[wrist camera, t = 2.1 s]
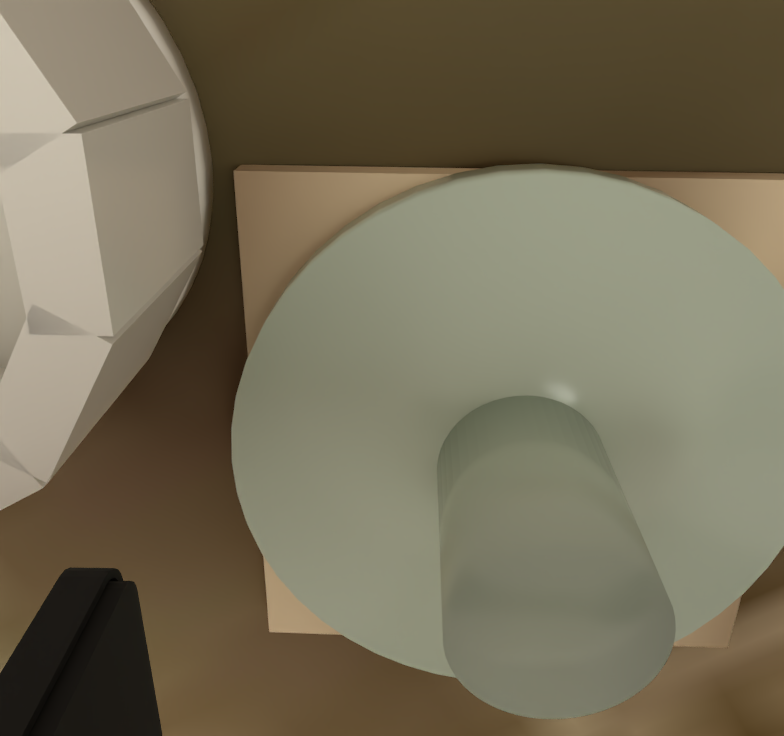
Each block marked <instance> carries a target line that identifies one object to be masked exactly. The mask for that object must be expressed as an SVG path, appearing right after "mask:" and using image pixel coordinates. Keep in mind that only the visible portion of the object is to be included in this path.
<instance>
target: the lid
mask: <svg viewBox="0 0 784 736" xmlns="http://www.w3.org/2000/svg"><path fill="white" fill-rule="evenodd" d="M231 443H232V466H233V472H234V478H235V484H236V490H237V495H238V498H239V501H240V504H241V507H242V510H243V513H244V516H245V519H246V522H247V525H248V527H249V529H250V531H251V533H252V535H253V537H254V539H255V541H256V543H257V545H258V547H259V549H260V551H261V553H262V554H263V556H264V557H265V559H266V560H267V562H268V563H269V565H270V566H271V567H272V569H273V570H274V572H275V573H276V575H277V576H278V578H279V579H280V580H281V581H282V582H283V583H284V584H285V586H286V587H287V588H288V589H289V590H290V591H291V592H292V593H293V595H294V596H295V597H296V598H297V599H298V600H299V601H300V602H301V603H302V604H303V605H305V606H306V607H307V608H308V609H309V610H310V611H311V612H313V613H314V614H315V615H316V616H317V617H318V618H319V619H320V620H322V621H323V622H325V623H326V624H327V625H329V626H330V627H332V628H333V629H335V630H336V631H338V632H339V633H340V634H342V635H343V636H345V637H346V638H348V639H350V640H352V641H353V642H355V643H357V644H359V645H361V646H363V647H365V648H367V649H368V650H370V651H372V652H374V653H376V654H379V655H381V656H384V657H386V658H389V659H391V660H393V661H396V662H398V663H401V664H403V665H406V666H410V667H413V668H417V669H420V670H424V671H427V672H431V673H434V674H439V675H444V676H450V677H455V678H457V679H458V680H459V681H460V682H461V684H462V685H463V686H464V687H465V688H466V689H467V690H469V691H470V692H471V693H472V694H473V695H475V696H476V697H478V698H479V699H480V700H482V701H484V702H485V703H487V704H489V705H491V706H493V707H495V708H498V709H500V710H503V711H505V712H508V713H512V714H515V715H519V716H524V717H530V718H539V719H566V718H576V717H581V716H586V715H591V714H594V713H597V712H601V711H604V710H606V709H609V708H611V707H614V706H616V705H618V704H620V703H622V702H624V701H626V700H628V699H629V698H631V697H632V696H634V695H635V694H637V693H638V692H640V691H641V690H642V689H643V688H644V687H646V686H647V685H648V684H649V683H650V682H651V681H652V680H653V679H654V678H655V677H656V676H657V674H658V673H659V672H660V670H661V669H662V668H663V666H664V665H665V663H666V661H667V659H668V657H669V655H670V653H671V650H672V647H673V644H674V642H676V641H678V640H680V639H682V638H683V637H685V636H687V635H689V634H691V633H692V632H694V631H695V630H697V629H698V628H700V627H701V626H703V625H704V624H706V623H707V622H709V621H710V620H711V619H713V618H714V617H716V616H717V615H719V614H720V613H721V612H722V611H724V610H725V609H726V608H727V607H728V606H729V605H731V604H732V603H733V602H734V601H735V600H736V599H738V598H739V597H740V596H741V595H742V594H743V593H745V592H746V591H747V590H748V588H749V587H750V586H751V585H752V584H753V583H754V582H755V581H756V580H757V579H758V578H759V577H760V576H761V574H762V573H763V572H764V571H765V570H766V569H767V568H768V567H769V565H770V564H771V563H772V561H773V560H774V558H775V557H776V556H777V554H778V553H779V552H780V550H781V549H782V547H783V546H784V289H783V287H782V286H781V285H780V283H779V282H778V280H777V279H776V277H775V276H774V275H773V274H772V273H771V272H770V271H769V270H768V269H767V268H766V267H765V266H764V265H763V264H762V262H761V261H760V260H759V259H758V258H757V257H756V256H755V255H754V254H753V253H752V252H751V251H750V250H749V249H748V248H747V247H745V246H744V245H743V244H742V243H740V242H739V241H738V240H736V239H735V238H734V237H732V236H731V235H730V234H729V233H727V232H726V231H725V230H723V229H722V228H721V227H720V226H718V225H717V224H715V223H714V222H713V221H711V220H710V219H708V218H707V217H705V216H704V215H702V214H701V213H699V212H698V211H697V210H695V209H693V208H692V207H690V206H688V205H686V204H684V203H683V202H681V201H679V200H677V199H675V198H673V197H672V196H670V195H668V194H666V193H664V192H663V191H661V190H658V189H656V188H653V187H650V186H648V185H645V184H642V183H640V182H637V181H635V180H632V179H629V178H627V177H624V176H621V175H616V174H612V173H607V172H603V171H598V170H594V169H589V168H585V167H578V166H566V165H554V164H542V163H537V164H517V165H497V166H492V167H486V168H481V169H475V170H470V171H465V172H459V173H455V174H452V175H449V176H445V177H442V178H439V179H436V180H433V181H430V182H427V183H424V184H421V185H417V186H415V187H413V188H411V189H409V190H407V191H404V192H402V193H400V194H398V195H396V196H394V197H392V198H390V199H388V200H385V201H383V202H381V203H379V204H378V205H376V206H375V207H373V208H371V209H370V210H368V211H367V212H365V213H364V214H362V215H361V216H359V217H358V218H356V219H354V220H353V221H351V222H350V223H348V224H347V225H345V226H344V227H343V228H342V229H341V230H340V231H338V232H337V233H336V234H335V235H334V236H333V237H331V238H330V239H329V240H328V241H327V242H326V243H324V244H323V245H322V246H321V247H320V248H319V249H317V250H316V251H315V253H314V254H313V255H312V256H311V257H310V258H309V259H308V260H307V262H306V263H305V264H304V265H303V266H302V267H301V268H300V270H299V271H298V272H297V273H296V274H295V275H294V276H293V277H292V279H291V280H290V282H289V283H288V285H287V286H286V288H285V289H284V291H283V292H282V294H281V295H280V297H279V298H278V300H277V302H276V303H275V305H274V306H273V308H272V309H271V311H270V313H269V315H268V317H267V319H266V321H265V323H264V325H263V327H262V329H261V331H260V333H259V335H258V337H257V339H256V341H255V344H254V346H253V348H252V350H251V352H250V354H249V356H248V359H247V361H246V363H245V367H244V370H243V373H242V377H241V380H240V383H239V387H238V390H237V394H236V398H235V406H234V413H233V420H232V428H231Z"/></svg>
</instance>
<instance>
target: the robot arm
mask: <svg viewBox="0 0 784 736" xmlns="http://www.w3.org/2000/svg"><path fill="white" fill-rule="evenodd" d="M0 736H162V730H161V724H160V719H159V713H158V707H157V701H156V696H155V690H154V684H153V678H152V673H151V667H150V661H149V655H148V649H147V644H146V638H145V632H144V626H143V621H142V615H141V609H140V603H139V598H138V592H137V588H136V585H135V583H134V582H132V581H123V579H122V575H121V573H120V571H119V570H118V569H115V568H68V569H66V570H64V572H63V573H62V574H61V575H60V577H59V578H58V580H57V582H56V583H55V585H54V587H53V588H52V590H51V591H50V593H49V595H48V596H47V598H46V600H45V601H44V603H43V605H42V606H41V608H40V609H39V611H38V613H37V614H36V616H35V618H34V619H33V621H32V623H31V624H30V626H29V627H28V629H27V631H26V632H25V634H24V636H23V637H22V639H21V641H20V642H19V644H18V645H17V647H16V649H15V650H14V652H13V654H12V655H11V657H10V658H9V660H8V662H7V663H6V665H5V667H4V668H3V670H2V672H1V673H0Z"/></svg>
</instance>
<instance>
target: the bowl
mask: <svg viewBox="0 0 784 736" xmlns="http://www.w3.org/2000/svg"><path fill="white" fill-rule="evenodd" d="M212 207H213V164H212V157H211V151H210V144H209V138H208V131H207V126H206V123H205V119H204V115H203V112H202V108H201V105H200V101H199V98H198V94H197V91H196V88H195V86H194V84H193V81H192V79H191V76H190V74H189V71H188V69H187V66H186V64H185V62H184V59H183V57H182V55H181V53H180V51H179V49H178V47H177V45H176V44H175V42H174V40H173V38H172V36H171V34H170V33H169V31H168V29H167V27H166V25H165V24H164V22H163V20H162V18H161V17H160V16H159V14H158V13H157V11H156V10H155V8H154V7H153V6H152V4H151V3H150V1H149V0H0V510H2V509H4V508H6V507H8V506H10V505H12V504H13V503H15V502H17V501H19V500H21V499H23V498H25V497H27V496H29V495H31V494H33V493H35V492H37V491H39V490H40V489H42V488H44V486H45V485H46V484H47V483H48V482H49V481H50V480H51V479H52V477H53V476H54V475H55V474H56V473H57V471H58V470H59V469H60V468H61V466H62V465H63V464H64V463H65V461H66V460H67V459H68V458H69V457H70V455H71V454H72V453H73V452H74V450H75V449H76V448H77V447H78V445H79V444H80V443H81V442H82V441H83V439H84V438H85V437H86V436H87V434H88V433H89V432H90V431H91V429H92V428H93V427H94V426H95V425H96V423H97V422H98V421H99V420H100V418H101V417H102V416H103V415H104V414H105V412H106V411H107V410H108V409H109V407H110V406H111V405H112V404H113V402H114V401H115V400H116V399H117V398H118V396H119V395H120V394H121V393H122V391H123V390H124V389H125V388H126V386H127V385H128V384H129V383H130V382H131V380H132V379H133V378H134V377H135V375H136V374H137V373H138V372H139V370H140V369H141V368H142V367H143V366H144V364H145V363H146V362H147V361H148V359H149V358H150V356H151V354H152V352H153V350H154V348H155V346H156V344H157V342H158V340H159V338H160V336H161V334H162V332H163V330H164V328H165V326H166V325H167V323H168V322H169V321H170V320H171V319H172V317H173V316H174V315H175V314H176V313H177V311H178V309H179V308H180V306H181V304H182V303H183V301H184V299H185V298H186V296H187V294H188V293H189V291H190V289H191V287H192V285H193V282H194V280H195V278H196V275H197V273H198V270H199V268H200V265H201V263H202V260H203V256H204V252H205V248H206V244H207V240H208V236H209V232H210V226H211V216H212Z"/></svg>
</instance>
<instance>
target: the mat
mask: <svg viewBox="0 0 784 736" xmlns="http://www.w3.org/2000/svg"><path fill="white" fill-rule="evenodd" d="M475 169H481V168H421V167H360V166H299V165H240V166H239V167H238V168H236V169H235V170H234V171H233V172H234V185H235V198H236V211H237V223H238V236H239V249H240V262H241V275H242V288H243V301H244V313H245V326H246V339H247V352H248V356H249V354H250V352H251V350H252V348H253V346H254V344H255V341H256V339H257V337H258V335H259V333H260V331H261V329H262V327H263V325H264V323H265V321H266V319H267V317H268V315H269V313H270V311H271V309H272V308H273V306H274V305H275V303H276V302H277V300H278V298H279V297H280V295H281V294H282V292H283V291H284V289H285V288H286V286H287V285H288V283H289V282H290V280H291V279H292V277H293V276H294V275H295V274H296V273H297V272H298V271H299V270H300V268H301V267H302V266H303V265H304V264H305V263H306V262H307V260H308V259H309V258H310V257H311V256H312V255H313V254H314V253H315V251H316V250H317V249H319V248H320V247H321V246H322V245H323V244H324V243H326V242H327V241H328V240H329V239H330V238H331V237H333V236H334V235H335V234H336V233H337V232H338V231H340V230H341V229H342V228H343V227H344V226H345V225H347V224H348V223H350V222H351V221H353V220H354V219H356V218H358V217H359V216H361V215H362V214H364V213H365V212H367V211H368V210H370V209H371V208H373V207H375V206H376V205H378V204H379V203H381V202H383V201H385V200H388V199H390V198H392V197H394V196H396V195H398V194H400V193H402V192H404V191H407V190H409V189H411V188H413V187H415V186H417V185H421V184H424V183H427V182H430V181H433V180H436V179H439V178H442V177H445V176H449V175H452V174H455V173H459V172H465V171H470V170H475ZM598 171H603V172H607V173H612V174H616V175H621V176H624V177H627V178H629V179H632V180H635V181H637V182H640V183H642V184H645V185H648V186H650V187H653V188H656V189H658V190H661V191H663V192H664V193H666V194H668V195H670V196H672V197H673V198H675V199H677V200H679V201H681V202H683V203H684V204H686V205H688V206H690V207H692V208H693V209H695V210H697V211H698V212H699V213H701V214H702V215H704V216H705V217H707V218H708V219H710V220H711V221H713V222H714V223H715V224H717V225H718V226H720V227H721V228H722V229H723V230H725V231H726V232H727V233H729V234H730V235H731V236H732V237H734V238H735V239H736V240H738V241H739V242H740V243H742V244H743V245H744V246H745V247H747V248H748V249H749V250H750V251H751V252H752V253H753V254H754V255H755V256H756V257H757V258H758V259H759V260H760V261H761V262H762V264H763V265H764V266H765V267H766V268H767V269H768V270H769V271H770V272H771V273H772V274H773V275H774V276H775V277H776V279H777V280H778V282H779V283H780V285H781V286H782V287H783V289H784V173H726V172H665V171H604V170H598ZM263 558H264V570H265V583H266V596H267V609H268V622H269V632H281V633H310V634H339V635H342V634H340V633H339V632H338V631H336V630H335V629H333V628H332V627H330V626H329V625H327V624H326V623H325V622H323V621H322V620H320V619H319V618H318V617H317V616H316V615H315V614H314V613H313V612H311V611H310V610H309V609H308V608H307V607H306V606H305V605H303V604H302V603H301V602H300V601H299V600H298V599H297V598H296V597H295V596H294V595H293V593H292V592H291V591H290V590H289V589H288V588H287V587H286V586H285V584H284V583H283V582H282V581H281V580H280V579H279V578H278V576H277V575H276V573H275V572H274V570H273V569H272V567H271V566H270V565H269V563H268V562H267V560H266V559H265V557H264V556H263ZM741 596H742V595H741ZM741 596H740V597H739V598H738V599H736V600H735V601H734V602H733V603H732V604H731V605H729V606H728V607H727V608H726V609H725V610H724V611H722V612H721V613H720V614H719V615H717V616H716V617H714V618H713V619H711V620H710V621H709V622H707V623H706V624H704V625H703V626H701V627H700V628H698V629H697V630H695V631H694V632H692V633H691V634H689V635H687V636H685V637H683V638H682V639H680V640H678V641H676V642H674V644H673V646H684V647H713V648H728V646H729V642H730V638H731V634H732V630H733V627H734V623H735V619H736V615H737V612H738V608H739V604H740V600H741Z"/></svg>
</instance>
